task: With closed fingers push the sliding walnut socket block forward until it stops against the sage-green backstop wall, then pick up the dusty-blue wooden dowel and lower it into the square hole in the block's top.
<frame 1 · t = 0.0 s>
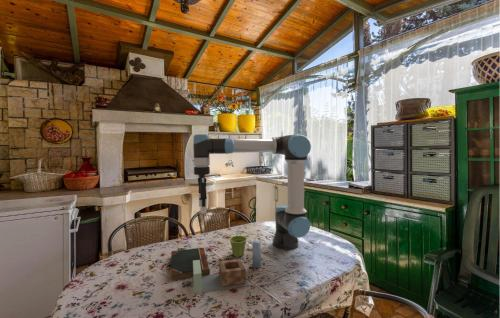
hand: (202, 209, 122), 28 cm above the table, fingers open, 13 cm apart
socket block: (231, 271, 110), point 4 cm above the table, slide at 0.0 cm
backstop wall: (197, 284, 106), on the table
runner mat: (223, 280, 109), on the table
plant pot: (238, 254, 135), on the table
dowel: (256, 266, 122), on the table
book: (189, 266, 124), on the table
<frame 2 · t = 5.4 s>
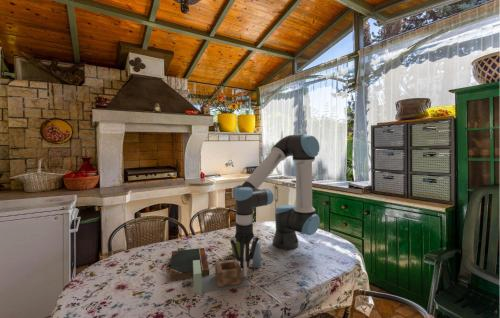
hand: (244, 274, 111), 2 cm above the table, fingers closed
socket block: (228, 272, 109), point 4 cm above the table, slide at 1.7 cm, touching gripper
everything else where it was.
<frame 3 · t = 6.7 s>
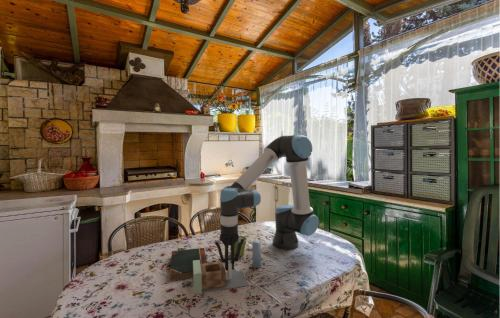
hand: (229, 276, 110), 2 cm above the table, fingers closed
socket block: (212, 274, 108), point 4 cm above the table, slide at 8.4 cm, touching gripper
everything else where it was.
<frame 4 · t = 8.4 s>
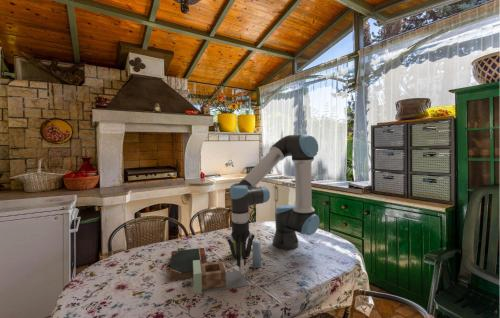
hand: (241, 272, 111), 2 cm above the table, fingers closed
socket block: (212, 274, 108), point 4 cm above the table, slide at 8.5 cm
everything else where it was.
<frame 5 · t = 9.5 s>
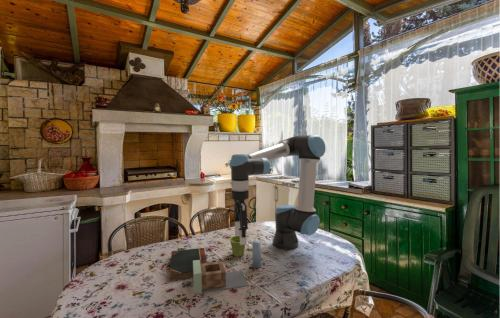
hand: (240, 239, 110), 18 cm above the table, fingers open, 10 cm apart
nothing on the table moved.
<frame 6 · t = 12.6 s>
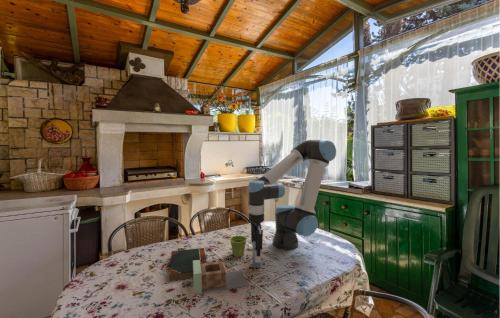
hand: (256, 259, 122), 3 cm above the table, fingers closed on dowel, 4 cm apart
dowel: (256, 266, 122), on the table, touching gripper
everything else where it was.
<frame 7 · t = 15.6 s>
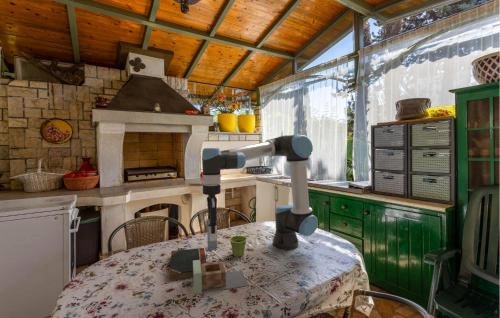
hand: (212, 238, 107), 20 cm above the table, fingers closed on dowel, 4 cm apart
dowel: (212, 248, 107), point 15 cm above the table, touching gripper
everything else where it was.
when the fingers open (8 cm above the table, at t = 17.9 s): dowel drops 2 cm, resting on socket block.
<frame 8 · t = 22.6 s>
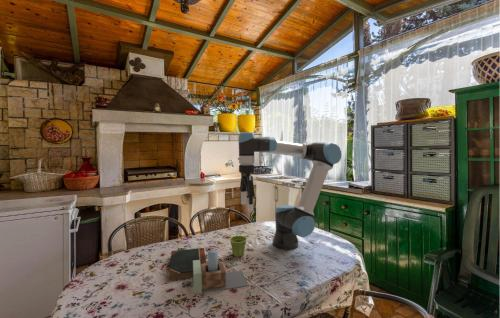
hand: (246, 207, 122), 29 cm above the table, fingers open, 13 cm apart
socket block: (212, 274, 108), point 4 cm above the table, slide at 8.5 cm, touching dowel
dowel: (212, 279, 108), point 2 cm above the table, touching socket block
everything else where it was.
at the end: socket block slide at 8.5 cm; dowel 0.2 cm from the target spot, point 1.6 cm above the table; dowel tilted 1° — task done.
